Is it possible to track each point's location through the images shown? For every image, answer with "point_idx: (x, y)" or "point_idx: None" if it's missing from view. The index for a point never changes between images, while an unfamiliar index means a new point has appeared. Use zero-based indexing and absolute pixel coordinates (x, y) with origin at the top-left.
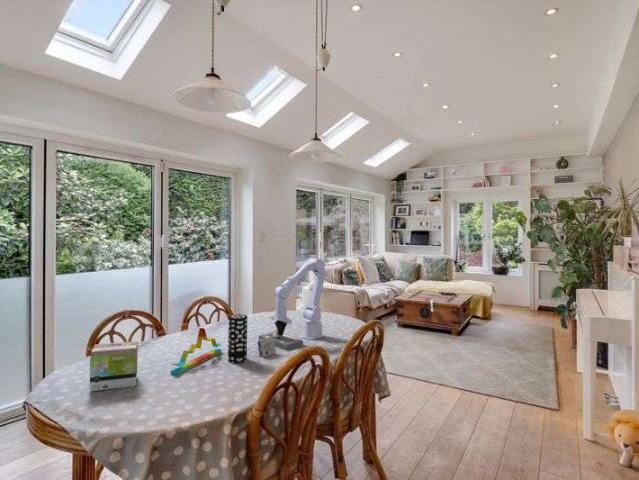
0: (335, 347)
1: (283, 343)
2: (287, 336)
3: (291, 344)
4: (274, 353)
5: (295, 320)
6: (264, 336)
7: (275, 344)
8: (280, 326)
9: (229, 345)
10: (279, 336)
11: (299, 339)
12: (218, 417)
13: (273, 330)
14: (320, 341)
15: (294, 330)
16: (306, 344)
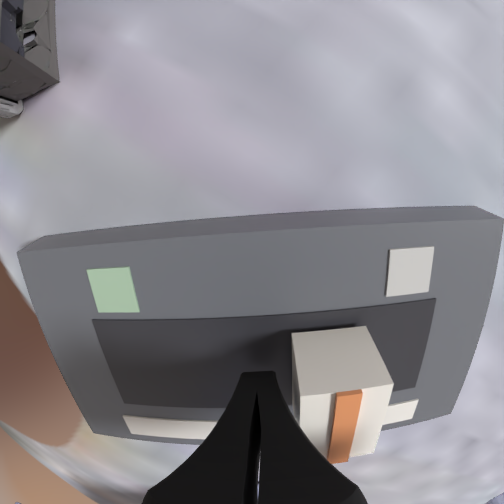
0: (33, 451)
1: (65, 272)
2: None
3: (45, 323)
4: (8, 98)
5: (476, 501)
6: (446, 253)
7: (175, 228)
8: (170, 474)
9: None
10: (292, 374)
11: (125, 435)
12: None
13: (373, 378)
14: (138, 484)
15: (405, 488)
16: None
